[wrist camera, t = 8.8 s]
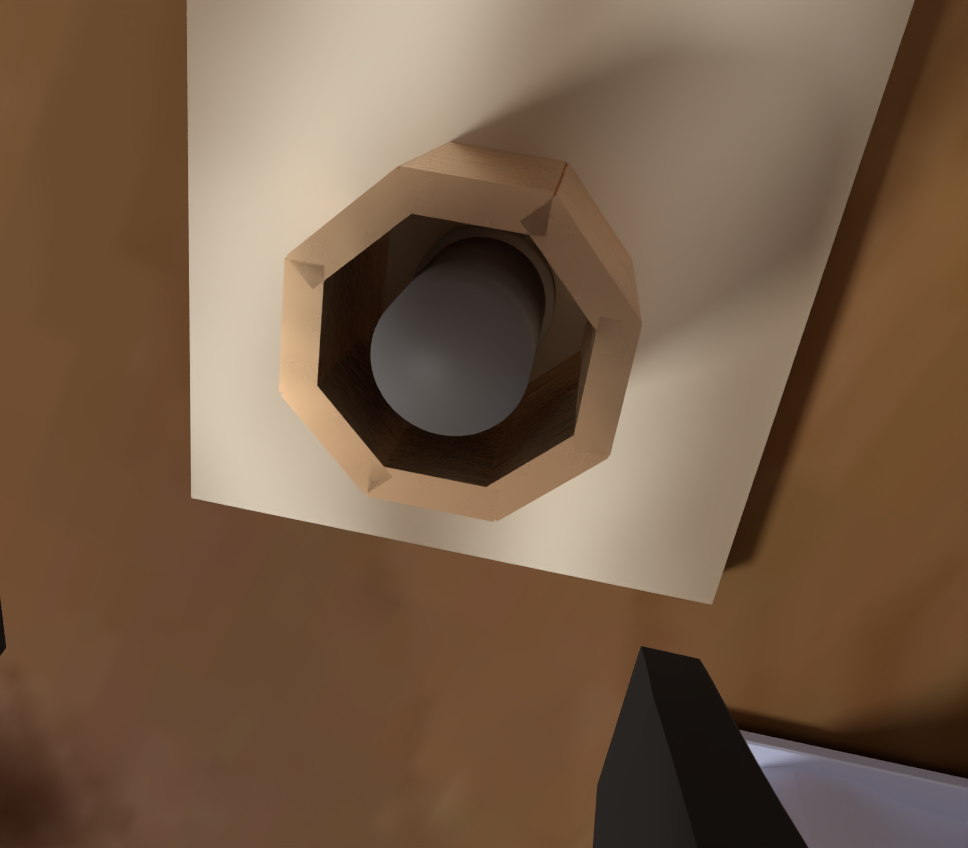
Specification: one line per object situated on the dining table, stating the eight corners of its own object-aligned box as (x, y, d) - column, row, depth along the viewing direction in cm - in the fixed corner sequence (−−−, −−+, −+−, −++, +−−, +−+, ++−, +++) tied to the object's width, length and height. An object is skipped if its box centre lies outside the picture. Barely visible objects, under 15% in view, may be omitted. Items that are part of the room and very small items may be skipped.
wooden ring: (652, 176, 14) (668, 213, 10) (592, 436, 16) (589, 541, 13) (367, 126, 14) (289, 146, 11) (346, 388, 17) (275, 477, 13)
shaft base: (895, -2, 13) (1044, -37, 9) (706, 578, 18) (739, 743, 14) (212, -108, 14) (28, -191, 10) (211, 477, 19) (89, 603, 15)
